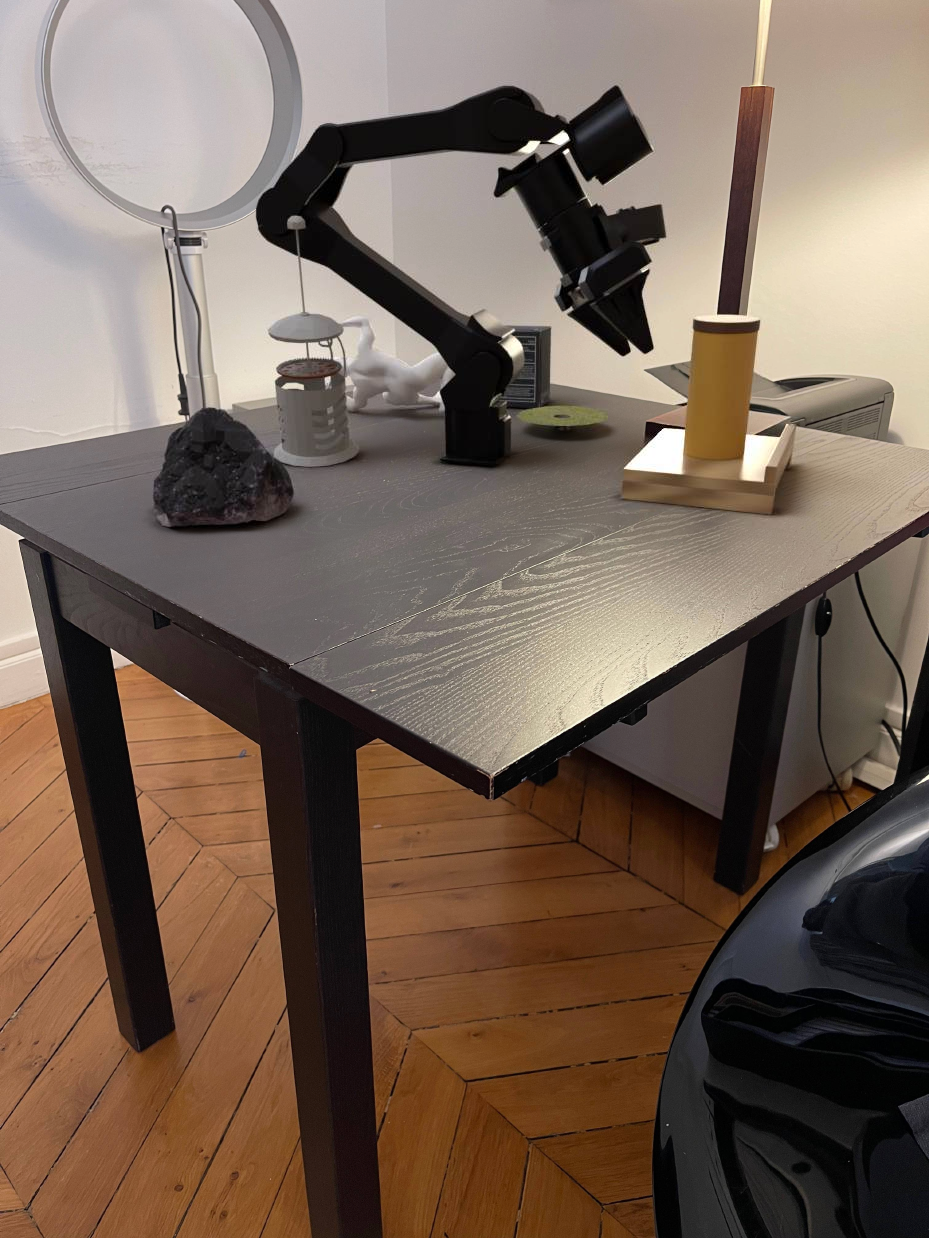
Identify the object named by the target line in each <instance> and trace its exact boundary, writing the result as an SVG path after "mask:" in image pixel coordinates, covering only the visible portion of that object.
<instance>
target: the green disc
mask: <svg viewBox="0 0 929 1238" xmlns="http://www.w3.org/2000/svg"><path fill="white" fill-rule="evenodd" d="M516 417H517V419H519V420H521V421H523V422H526V423H530V424H534V425H542V426H554V429H559V430H560V431H564V430H565V429H566V431H571V426H586V425H587V426H588V425H592V424H598V423H601V422H603V421H604V422H605V421H606V420H607V419H608V418H609V416H608V413H606V412H605V411H603V410H598V409H595V408H591V407H584V406H581V405H580V406H577V405H575V406H572V405H549V406H542V407H540V408H526V409H524V410H521V411H520V412H518V414H517V415H516Z"/></svg>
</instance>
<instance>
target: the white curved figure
mask: <svg viewBox="0 0 929 1238" xmlns="http://www.w3.org/2000/svg"><path fill="white" fill-rule="evenodd" d="M337 322H338V323H339V324H340V325H342V326H343V328H358V329H359V328H360V333H359V334H360V338H359V340H358V341H357V344H356V349H357V354H356V356H355V357H354V358H353V359H352V358H349V357H346V356H345V359H346V375H345V378H348V376H349V377H350V380H351V381H352V384H353V385H354V387H353V390H352V398H351V397H350V396H348V395H347V401H346V406H347V410H348V411H349V412H351V413H354V412H357V411H359V410H360V409H363V408H366V407H367V406H368V403H369V399H371V398H374V397H376V396H377V395H380V394H382V398H383V400H384V402H386V403H387V404H390V405H392V406H406V407H407V406H409V407H410V406H420V405H432V406H439V407H438V411H439V413H441V414H445V407H444V404H443V401H442V398H441V396H440V390H441V389H442V388H443V387H444V386H445V385H446V384H447V383H448V382H449V381H450V380H451V379H452V378H453V377H454V376H455V375H456V374H455V373H454V372H453V371H452V370H451V369H450V368H449V367H448V365H447V364H446V362H445V361H444V359H443V358H442V356H441V355H440V353H439V352H438V351H437V352H434V353H432V354H431V355H429V356H427V357H426V358H424V359H423V360H421V361H420V362H419V363H417V364H414V365H412V366H411V365H408V363H406V362H405V361H403V360H401V359H400V358H398V357H396V356H394V355H391V354H388V353H385V352H381V351H380V350H379V349H378V348H375V347H374V343H375V341H376V338H377V334H376V331H375V330H374V328H373V326H372V323H371V318H369V317H366V316H362V315H358V316H353V317H352V316H351V317H350V318H348V319H344V320H340V321H337ZM333 360H335V361H337V362H340V363H341V366H342V368H341V370H340V371H339V372H338V373H339V374H341V375H343V374H344V359H343V356H336V357H333ZM438 381H440V390H438V391H437V393H436V394H435V395H434V396H427V395H424V394H420V392H421V391H424V390H426V388H428V387H429V386H430V385H432V384H434V383H436V382H438ZM329 383H330V380H329V381H325V388H326V389H328V386H329ZM330 388H331V386H330Z"/></svg>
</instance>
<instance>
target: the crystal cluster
mask: <svg viewBox="0 0 929 1238" xmlns="http://www.w3.org/2000/svg"><path fill="white" fill-rule="evenodd" d="M294 495H295V491H294V486H293V484H292V479H291V477H290V473H289V472H288V469H287V468H286V467H285V466H284V465H283V464H282V462H281V461H279V460H278V459H276V458H275V457H274V456H273V455H272V454H271V453H270V452H269V451H268V450H267V449H266V448H265V445H264V444H263V443H262V442H261V441H260V439H258V437H257V436H256V435H255V434H254V433H253V432H252V430H250V428H249V427H248V426H247V425H246V424H244V423H243V422H241V421H239V420H235V419H234V417H232V416H231V415H230V414H229V413H228V412H227V410H226V409H225V408H224V409H223V408H219V409H217V408H216V407H212V406H208V407H202V408H201V409H199V410H198V411H197V410H196V412H195V413H194V414H192V415H191V416H190V417H189V419H188V420H187V421H186V423H185V424H184V425H183V426H181V427H177V429H176V430H175V431H173V432H172V433H171V434H170V436H169V437H168V440H167V445H166V448H165V453H164V461H163V463H162V468H161V470H160V472H159V474H158V475H157V476H156V477H155V478H154V479H153V493H152V500H153V514H155V515H157V516H156V519H157V520H158V522H159V523H160V525H161V526H162V527H168V528H172V527H190V526H210V525H238V524H242V523H249V522H250V521H259V522H266V521H269V520H273V519H274V518H277V517H279V516H281V515H283V514H284V513H286V512H287V510H288V509H289V508H290V504H291V501H292V500H293V498H294Z"/></svg>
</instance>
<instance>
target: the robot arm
mask: <svg viewBox="0 0 929 1238" xmlns="http://www.w3.org/2000/svg"><path fill="white" fill-rule="evenodd" d="M565 142H566V143H565ZM539 145H551V146H552V145H553V146H554V145H555V146H557V145H559V146H560V145H561V146H560V147H558V148H557V149H556V150H554V151H553V152H551V153H549V154H548V155H546V156H545V157H543V158H542V156H541V155H540V154H538V153H537V152H534V151H535V150H536V149H537V147H538V146H539ZM451 152H460V153H472V154H484V155H497V156H498V155H499V156H500V155H501V156H511V157H513V156H514V157H521V156H525V155H529V154H530V153H532V152H533V153H532V154H530V155H529V156H528V157H527V158H525V159H524V160H522V161H521V162H519V163H518V164H517V165H515V166H514V167H512V168H508V167H506V166H499V167H498V168H497V180H496V183H495V187H494V190H493V192H492V193H493V197H494V198H497V199H498V198H506V197H507V196H508V195H510V194H511V193H512V192H514V191H515V193H516V194H517V196H518V198H519V200H520V202H521V203H522V205H523V208H524V209H525V211H526V212H527V215H528V217H529V218H530V219H531V221H532V223H533V225H534V227H535V229H536V230H537V232H538V234H539V237H540V238H541V240H540V242H539V245H540V246H541V248H542V250H543V252H546V251H548V252H549V254H550V256H551V258H552V260H553V261H554V263H555V265H556V267H557V269H558V270H559V272H560V274H561V275H562V277H560V278H559V281H560V282H559V283H557V285H556V287H555V291H554V295H553V298H554V300H555V302H556V304H557V305H558V307H559V309H560V311H561V313H564V312H565V311H568V310H569V309H571V308H572V310H570V311H569V312H567V313H566V315H567V317H569V318H571V319H572V320H574V321H575V322H577V323H578V324H579V325H580V326H582V327H583V328H584V329H586V331H588V332H590V333H591V334H592V335H594V336H595V337H596V338H598V339H599V340H600V341H601V342H603V343H604V344H605V345H607V346H608V347H609V348H610V349H612V350H613V351H614V352H615V353H617V354H618V355H619V356H620V357H626V356H627V355H629V354H630V353H631V352H632V348H631V345H633V346H634V347H635V348H636V349H637V350H638V351H640V352H641V353H642V354H643V355H647V354H648V353H650V352H652V351H654V348H655V346H654V341H653V337H652V333H651V329H650V328H651V327H650V325H649V320H648V317H647V316H648V315H647V312H646V307H645V303H644V298H643V291H644V288H645V284H646V282H647V279H648V277H649V275H650V273H651V267H648V268H646V269H644V268H645V267H646V266H648V265H650V264H651V263H652V262H653V260H652V258H651V257H650V254H649V253H648V251H647V249H646V247H645V246H649V245H654V244H657V243H659V242H660V240H661V239H663V240H664V239H667V230H666V225H665V224H666V223H665V217H664V210H663V209H664V208H663V204H661V203H659V204H652V205H649V206H644V207H643V206H642V207H638V208H636V207H635V206H634V205H631V206H629V207H628V208H624V209H623V208H619V209H618V210H616V211H615V213H613V214H609V215H608V214H607V212H606V210H605V209H604V207H603V205H602V204H598V202H596V203H595V204H593V205H592V202H591V200H590V198H589V197H588V195H587V194H586V192H585V190H584V188H583V185H582V184H581V182H580V180H579V178H578V177H577V175H576V173H575V170H574V169H573V167H572V165H571V163H570V161H569V160H568V158H567V156H566V154H568V153H570V155H571V157H572V159H573V161H574V163H575V166H576V167H577V170H578V171H579V173H580V174H581V176H582V177H583V179H584V180H585V182H586V183H587V184H589V183H591V182H593V180H594V179H595V180H597V181H598V183H599V184H600V185H601V186H602V187H604V186H605V185H607V184H608V183H610V182H611V181H613V180H614V179H616V178H618V176H620V175H622V174H623V173H624V172H626V171H628V170H629V169H631V168H632V167H634V166H635V165H636V164H638V163H640V162H641V161H643V160H644V159H646V158H647V157H648V156H650V155H652V153H653V154H654V152H655V149H654V146H653V144H652V142H651V139H650V137H649V135H648V133H647V131H646V129H645V127H644V125H643V123H642V120H641V119H640V117H638V116H637V115H636V114H635V112H634V111H633V108H632V107H631V105H630V103H629V102H628V100H627V98H626V96H625V94H624V92H623V90H622V89H621V87H620V86H619V85H617V84H616V85H613V86H612V87H611V88H609V89H608V90H605V92H604V93H603V94H602V95H601V96H600V97H599V98H598V99H597V100H596V101H595V102H593V103H592V104H591V105H589V106H588V107H587V108H586V109H584V110H583V111H581V112H580V113H578V114H577V115H575V116H574V117H573V118H571V119H570V120H569V121H568V120H567V118H566V117H565V116H563V115H560V114H555V116H552V115H550V114H548V113H546V111H545V108H544V106H543V104H542V102H541V101H540V100H539V99H538V98H537V97H536V96H535V95H534V94H533V93H530V92H529V91H527V90H524V89H522V88H521V87H518V86H515V85H501V86H497V87H495V88H491V89H489V90H487V91H483V92H481V93H478V94H475V95H472V96H470V97H468V98H466V99H463V100H461V101H460V102H457V103H455V104H452V105H451V106H448V107H445V108H443V109H442V108H441V109H434V110H428V111H422V112H421V111H420V112H415V113H405V114H401V115H394V116H387V117H378V118H373V119H372V118H371V119H366V120H357V121H351V122H344V123H333V122H326V123H323V124H320V125H318V127H317V128H316V129H315V130H314V131H313V133H312V134H311V136H310V138H309V139H308V141H307V143H306V144H305V146H304V148H303V149H302V150H301V151H300V152H299V153H298V155H296V157H295V158H294V159H293V160H292V161H291V162H290V163H289V164H288V165H287V167H286V168H285V169H284V170H283V171H282V172H281V174H280V175H279V178H278V179H277V181H276V182H275V184H274V185H273V187H270V188H268V189H267V190H265V191H263V192H262V194H261V195H260V197H259V198H258V200H257V203H256V206H255V220H256V223H257V230H258V232H259V234H260V236H261V237H262V238H264V239H265V241H267V242H268V243H269V244H271V245H273V246H275V247H278V248H279V249H282V250H283V251H286V252H288V253H290V254H292V255H293V256H295V257H298V251H297V240H296V230H295V229H288V226H287V222H288V219H289V218H290V217H291V216H300V217H302V218H303V219H304V220H305V226H306V228H303V229H298V238H299V249H300V259H304V260H307V261H310V262H312V263H315V264H317V265H320V266H324V267H326V268H327V269H329V270H331V272H333V273H335V274H336V275H337V276H339V277H340V278H341V279H343V280H344V281H345V282H347V283H348V284H349V285H351V286H352V287H354V288H355V289H357V291H359V292H360V293H362V294H363V295H365V296H366V297H367V298H368V299H370V300H371V301H372V302H374V303H375V304H377V305H378V306H380V307H381V308H382V309H384V310H385V311H387V312H388V313H389V314H391V316H393V317H394V318H396V319H397V320H399V321H400V322H401V323H403V324H404V325H406V326H407V327H408V328H410V329H411V330H413V331H414V332H415V333H417V334H418V335H419V336H421V338H423V339H425V340H426V341H427V342H429V343H430V344H431V345H432V346H433V347H435V349H436V351H437V353H438V352H439V353H440V355H441V356H442V358H443V359H444V361H445V362H446V364H447V365H448V367H449V368H450V369H451V370H452V371H453V372H454V373H455V374H456V375H455V376H454V377H453V378H452V379H451V380H450V381H449V382H448V383H447V384H446V385H445V386H444V387H443V388H442V389H441V388H440V390H439V391H440V396H441V398H442V401H443V404H444V407H445V413H444V443H445V445H444V447H445V448H444V449H445V453H444V454H443V455H441V456H440V457H439V461H440V462H441V463H448V464H449V463H450V464H462V465H477V466H486V467H488V466H489V467H495V466H497V465H498V464H500V463H501V462H502V461H503V460H504V459H505V458H506V457H508V456H509V455H510V454H511V453H512V417H511V416H510V415H508V414H507V408H508V407H507V402H506V401H499V400H498V399H499V398H500V397H503V396H504V394H505V392H506V389H507V386H508V385H510V384H511V383H512V382H513V381H514V380H515V379H516V378H517V377H518V376H519V375H520V373H521V371H522V369H523V367H524V359H525V358H524V352H523V347H522V345H521V343H520V342H519V341H518V340H517V339H516V338H515V337H514V336H512V335H511V334H512V333H514V332H515V329H513V328H509V327H506V326H504V325H505V324H503V323H501V322H500V321H499V320H498V318H496V317H495V316H494V315H493V314H492V313H491V312H490V311H488V309H486V308H483V309H481V310H479V311H477V312H475V313H473V314H471V315H466V314H463V313H462V312H459V311H458V310H456V309H454V308H453V307H452V306H450V305H449V304H448V303H446V302H445V301H443V300H442V299H441V298H440V297H438V296H437V295H436V294H434V293H433V292H431V291H430V290H429V289H427V287H424V286H423V285H422V284H421V283H419V282H418V281H417V280H416V279H414V278H412V277H411V276H410V275H408V274H407V273H406V272H404V271H403V270H402V269H400V268H399V267H398V266H396V265H395V264H393V263H392V262H391V261H389V260H388V259H387V258H385V257H384V256H383V255H381V254H380V253H378V252H377V251H375V250H374V249H373V248H371V247H370V246H369V245H367V244H366V243H364V242H363V241H362V240H361V239H359V238H358V237H357V236H356V235H355V234H354V233H353V232H352V231H351V229H350V228H349V226H348V225H347V224H346V222H345V221H344V219H343V218H342V216H341V215H340V213H339V212H338V211H337V210H336V209H335V208H334V206H335V204H336V203H337V201H338V199H339V197H340V195H341V193H342V190H343V188H344V185H345V182H346V180H347V177H348V175H349V173H350V171H351V170H352V168H353V167H354V165H359V164H366V163H374V162H383V161H391V160H397V159H405V158H412V157H421V156H429V155H436V154H444V153H451ZM642 269H643V270H642ZM630 344H631V345H630Z"/></svg>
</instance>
